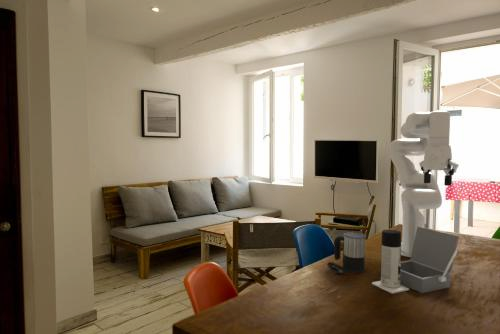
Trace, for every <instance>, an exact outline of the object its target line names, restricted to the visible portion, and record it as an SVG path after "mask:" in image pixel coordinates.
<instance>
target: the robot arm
mask: <svg viewBox="0 0 500 334" xmlns="http://www.w3.org/2000/svg"><path fill="white" fill-rule="evenodd" d="M450 129H451V113H450V112H449V111H447V110H435V111H431V112H430V111H427V112H424V111H418V112H413V113H412V112H411V114H409V115H407V116H406V119H405V122H404V123H403V124H402V125H401V127H400V134H401V135H402V136H403V137H404V138H399V139H394V140H392V141H391V142H390V144H389V148H388V151H389V157H390V160H391V162H392V163H393V165H394V167H395V168H396V172H397V176H398V180H399V183H400V187H401V188H402V189H404V190H403V191H402V192H401V195H400V197H401V198H400V199H401V206H402V208H401V209H402V232H401V256H403V257H405V258H411V254H412V249H413V245H414V240H415V236H416V231H417V227H421V228H425V216H424V215H423V213H422V212H421V211H420V210H436V209H439V208H440V207H441V206H442V204H443V199H442V194H441V191H440V188H439V185H438V182H437V179H436V176H435V174H434V173H432V171H443V172H444V174H445V175H444V186H446V187H447V186H448V187H449V186H452V182H453V176H454V174H455V173H457V170H458V169H459V166H460V165H459V164H458V163H456V162H455V161H453V156H452V147H451V145H450V132H451V130H450ZM408 156H410V157H411V156H414V157H415V156H416V157H417V156H423V160H422V161H420V162H419V167H420V170H418V169H416V167H415V164H414V163H413V161H411V159H410V158H408Z"/></svg>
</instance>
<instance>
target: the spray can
mask: <svg viewBox="0 0 500 334" xmlns="http://www.w3.org/2000/svg"><path fill="white" fill-rule="evenodd" d="M401 242H402V232H401V231H399V230H397V229H384V230H382V231H381V252H380V255H381V258H380V259H381V260H380V261H381V264H380V281H381V284H382V285H383V286H385V287H388V288H398V287H399V286H400V285H401V284H400V267H401V262H402V260H401V259H402V257H401V256H402V255H401Z"/></svg>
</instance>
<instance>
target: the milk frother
mask: <svg viewBox="0 0 500 334" xmlns="http://www.w3.org/2000/svg"><path fill="white" fill-rule="evenodd" d="M366 238H367V235H366V234H365V233H360V232H351V231H350V232H344V233H343V234H342V235H338V236H336V237H335V238H334V240H333V250H334V251H333V252H334V253H333V254H334V255H333V256H334V260H336V261H338V260H340V259H341V258H342V265H340V264H338V263H335V262H333V261H332V262H331V261H329V262H328V263H327V265H326V266H327V268H328V269H329V270H330V271H331V272H332V273H335V275H343V274H345V272H347V273H349V272H350V273H355V274H356V273H357V274H359V273H361V274H362V273H364V272H365V271H366V269H365V267H366V265H365V264H366V262H365V261H366V260H365V259H366V258H365V257H366V240H367V239H366ZM342 241H343V246H342V247H343V250H342V251H343V252H342V254H341V242H342ZM341 255H342V257H341Z"/></svg>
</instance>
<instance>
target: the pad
mask: <svg viewBox="0 0 500 334" xmlns="http://www.w3.org/2000/svg"><path fill="white" fill-rule="evenodd" d="M371 284H372V285H373V286H375V287H377V288H379V289H381V290H384V291H385V292H388V293H390V294H397V293H400V292H401V293H402V292H406V291H410V288H409V287H407V286H404V285H402V284H400V286H399V287H398V288H388V287H385V286H383V285H382V284H381V280H377V281H373V282H371Z"/></svg>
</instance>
